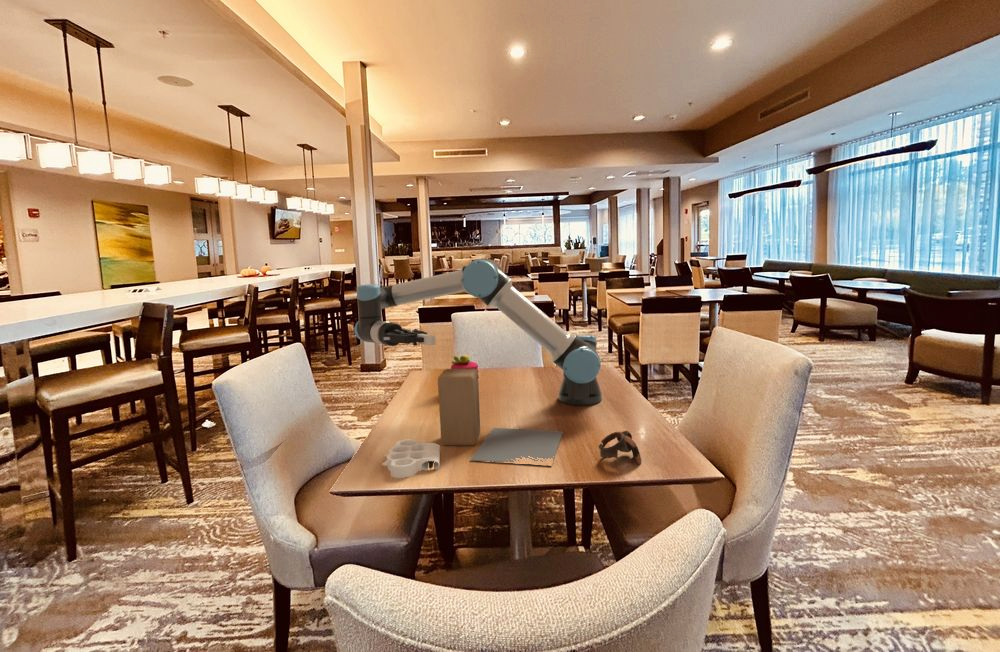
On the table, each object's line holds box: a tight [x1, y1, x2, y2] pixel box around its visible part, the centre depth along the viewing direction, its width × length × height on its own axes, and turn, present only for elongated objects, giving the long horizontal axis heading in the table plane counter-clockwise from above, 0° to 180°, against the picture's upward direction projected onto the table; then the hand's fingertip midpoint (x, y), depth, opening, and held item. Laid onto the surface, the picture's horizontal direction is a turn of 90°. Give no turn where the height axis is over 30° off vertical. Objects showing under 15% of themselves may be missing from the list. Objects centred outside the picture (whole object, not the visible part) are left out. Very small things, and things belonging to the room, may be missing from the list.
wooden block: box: [437, 368, 481, 446], centre depth 144 cm, size 10×10×20 cm
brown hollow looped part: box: [598, 430, 642, 466], centre depth 128 cm, size 12×10×8 cm
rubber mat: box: [470, 427, 564, 462], centre depth 139 cm, size 21×24×1 cm
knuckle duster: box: [380, 438, 441, 479], centre depth 131 cm, size 3×18×15 cm
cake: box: [450, 354, 480, 386], centre depth 194 cm, size 10×11×15 cm
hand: (433, 340), depth 149 cm, fingers closed
